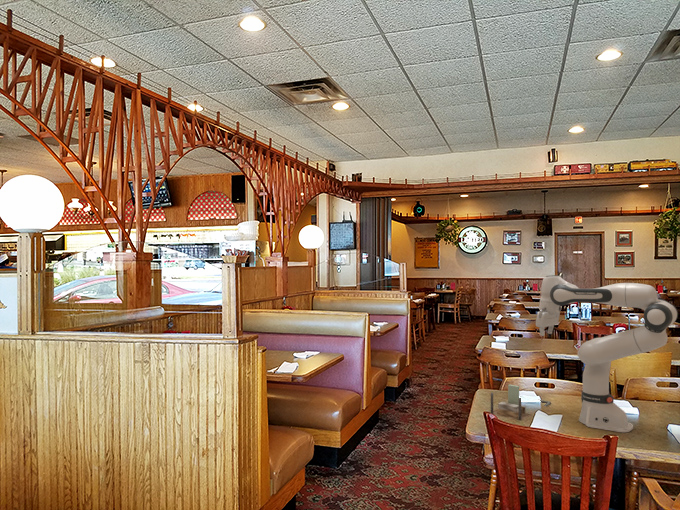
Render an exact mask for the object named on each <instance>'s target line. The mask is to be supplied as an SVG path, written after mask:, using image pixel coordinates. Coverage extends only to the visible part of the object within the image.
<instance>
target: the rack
mask: <svg viewBox="0 0 680 510" xmlns="http://www.w3.org/2000/svg"><path fill="white" fill-rule="evenodd" d="M490 413H492V414H491V415H496V416H498V417H500V416H501V417H504V418H509V419H513V420H518V421H523V420H525V419H527V418H528V417H530V416H532V413H529V412H528V413H527V412H526V406H523V405H522V402H521V398H519V417H518V418H514V417H509V416H505V415H500V414H497V409H495V410H494V392H490Z"/></svg>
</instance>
